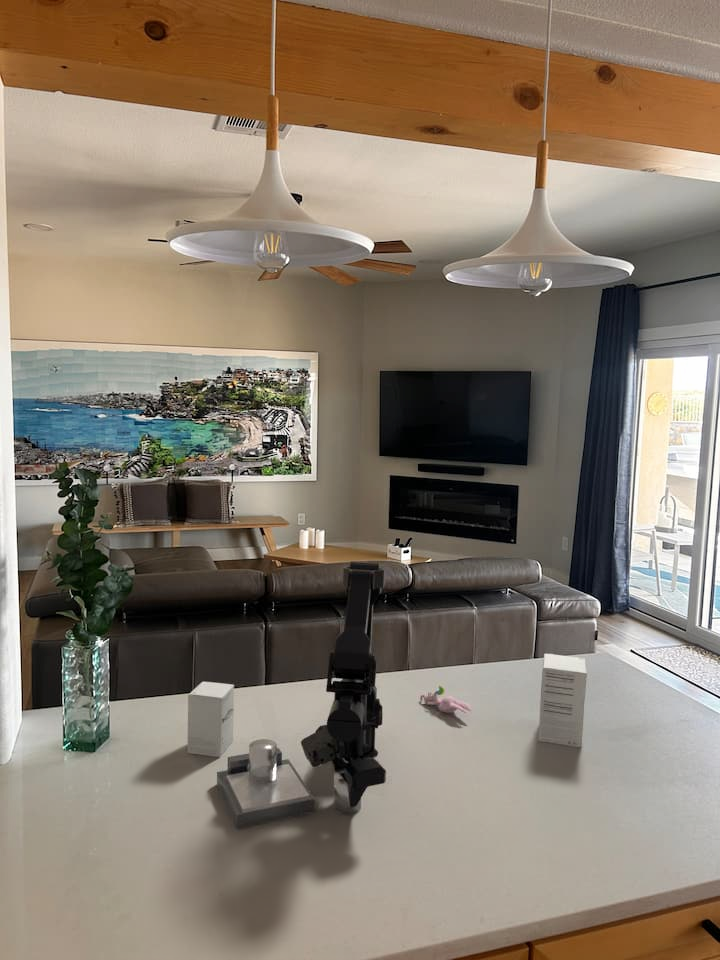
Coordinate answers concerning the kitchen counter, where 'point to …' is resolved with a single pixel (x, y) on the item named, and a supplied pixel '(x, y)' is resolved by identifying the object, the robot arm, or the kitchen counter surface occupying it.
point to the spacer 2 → (342, 796)
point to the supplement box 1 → (210, 718)
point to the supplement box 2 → (562, 700)
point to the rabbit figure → (445, 702)
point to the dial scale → (263, 793)
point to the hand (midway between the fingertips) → (347, 798)
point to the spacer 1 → (262, 761)
